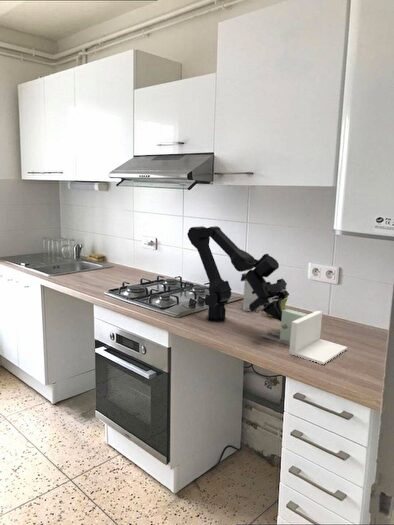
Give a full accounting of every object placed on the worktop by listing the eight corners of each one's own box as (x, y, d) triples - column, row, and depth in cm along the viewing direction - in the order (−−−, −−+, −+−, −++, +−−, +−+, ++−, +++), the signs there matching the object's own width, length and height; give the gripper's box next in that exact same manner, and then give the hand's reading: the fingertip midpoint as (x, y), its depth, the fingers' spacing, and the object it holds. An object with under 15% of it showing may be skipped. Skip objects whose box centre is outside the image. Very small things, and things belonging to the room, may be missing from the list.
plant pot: (282, 312, 181) (283, 292, 179) (290, 319, 172) (291, 298, 170) (261, 312, 179) (262, 292, 178) (268, 319, 170) (269, 298, 169)
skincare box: (257, 312, 179) (260, 277, 176) (242, 310, 180) (244, 275, 177) (258, 306, 187) (261, 273, 184) (243, 305, 189) (246, 271, 186)
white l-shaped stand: (251, 340, 146) (253, 310, 144) (278, 328, 159) (280, 301, 157) (323, 365, 129) (327, 331, 127) (346, 349, 142) (350, 318, 140)
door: (278, 341, 146) (280, 311, 144) (284, 338, 149) (286, 308, 147) (298, 347, 141) (301, 316, 139) (304, 344, 144) (307, 314, 142)
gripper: (258, 275, 140) (284, 314, 135) (286, 268, 154) (311, 304, 149) (238, 293, 147) (262, 331, 142) (267, 285, 161) (290, 319, 156)
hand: (282, 320), depth 147 cm, fingers closed
